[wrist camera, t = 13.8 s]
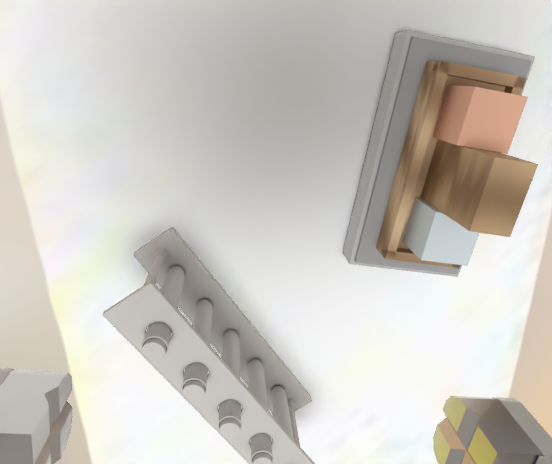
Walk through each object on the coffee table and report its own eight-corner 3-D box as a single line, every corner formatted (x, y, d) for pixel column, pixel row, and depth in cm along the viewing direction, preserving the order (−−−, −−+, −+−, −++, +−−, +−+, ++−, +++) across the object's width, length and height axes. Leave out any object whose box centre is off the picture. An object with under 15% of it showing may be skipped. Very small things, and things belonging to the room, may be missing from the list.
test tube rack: (134, 251, 40) (90, 332, 28) (172, 226, 39) (144, 297, 27) (278, 414, 48) (293, 531, 36) (310, 395, 48) (337, 508, 36)
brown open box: (426, 61, 33) (496, 57, 24) (506, 77, 34) (602, 79, 25) (375, 247, 39) (418, 300, 30) (446, 256, 40) (507, 310, 31)
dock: (396, 32, 35) (409, 29, 32) (515, 57, 37) (538, 56, 34) (342, 252, 42) (350, 265, 39) (445, 265, 43) (459, 278, 41)
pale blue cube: (414, 197, 36) (435, 211, 32) (458, 203, 36) (484, 218, 32) (401, 241, 37) (420, 260, 33) (444, 246, 37) (467, 265, 34)
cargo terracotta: (447, 84, 32) (475, 86, 29) (494, 93, 33) (527, 96, 29) (432, 136, 34) (456, 145, 30) (477, 144, 34) (507, 153, 31)
